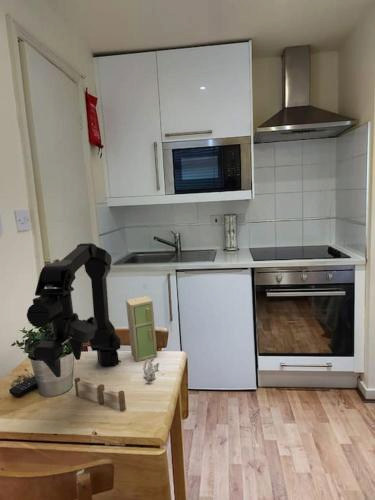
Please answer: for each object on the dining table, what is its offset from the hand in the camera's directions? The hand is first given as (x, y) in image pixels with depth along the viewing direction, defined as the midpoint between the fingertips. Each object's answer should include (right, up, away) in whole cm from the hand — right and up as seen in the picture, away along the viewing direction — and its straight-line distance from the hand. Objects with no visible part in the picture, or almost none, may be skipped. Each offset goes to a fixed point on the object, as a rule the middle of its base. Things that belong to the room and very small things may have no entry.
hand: (68, 367), depth 94 cm
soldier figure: (+21, -9, +18) cm, 29 cm away
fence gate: (+3, -11, +7) cm, 13 cm away
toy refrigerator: (+16, -7, +31) cm, 36 cm away
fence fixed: (+11, -12, +3) cm, 17 cm away
